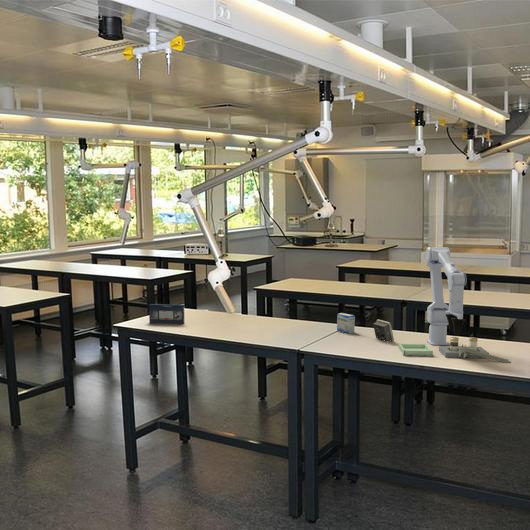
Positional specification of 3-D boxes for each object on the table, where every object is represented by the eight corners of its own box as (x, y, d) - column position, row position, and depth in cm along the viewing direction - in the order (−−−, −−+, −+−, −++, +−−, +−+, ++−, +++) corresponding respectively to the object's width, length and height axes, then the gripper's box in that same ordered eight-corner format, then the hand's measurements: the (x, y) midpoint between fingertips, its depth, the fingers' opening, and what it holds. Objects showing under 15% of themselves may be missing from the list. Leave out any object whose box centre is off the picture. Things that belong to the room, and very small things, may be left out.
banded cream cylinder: (448, 353, 259) (449, 337, 258) (456, 353, 259) (457, 337, 258) (450, 355, 256) (451, 338, 255) (459, 355, 256) (459, 339, 255)
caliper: (458, 358, 251) (459, 344, 250) (458, 358, 252) (459, 343, 251) (511, 363, 244) (512, 348, 244) (511, 362, 245) (511, 347, 245)
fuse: (467, 353, 259) (468, 337, 258) (475, 353, 259) (476, 337, 258) (469, 355, 255) (470, 339, 255) (478, 355, 255) (478, 339, 254)
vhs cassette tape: (149, 323, 316) (148, 304, 315) (150, 322, 319) (150, 303, 318) (183, 324, 314) (183, 305, 313) (184, 323, 317) (184, 304, 316)
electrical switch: (394, 341, 279) (393, 322, 278) (385, 343, 277) (384, 324, 276) (381, 337, 288) (380, 318, 286) (372, 339, 285) (371, 320, 284)
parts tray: (398, 348, 266) (398, 343, 266) (425, 349, 266) (426, 344, 265) (403, 355, 254) (403, 350, 254) (432, 356, 254) (432, 351, 253)
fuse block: (438, 350, 263) (438, 346, 263) (480, 351, 262) (480, 346, 262) (445, 357, 252) (445, 352, 252) (489, 357, 251) (489, 353, 251)
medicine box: (336, 330, 301) (336, 313, 300) (342, 329, 304) (342, 312, 303) (348, 333, 295) (349, 316, 294) (354, 332, 298) (355, 314, 297)
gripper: (442, 298, 262) (440, 328, 264) (451, 303, 248) (449, 336, 249) (458, 298, 262) (457, 329, 263) (468, 304, 247) (467, 336, 249)
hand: (454, 332), depth 256 cm, fingers open, 7 cm apart
